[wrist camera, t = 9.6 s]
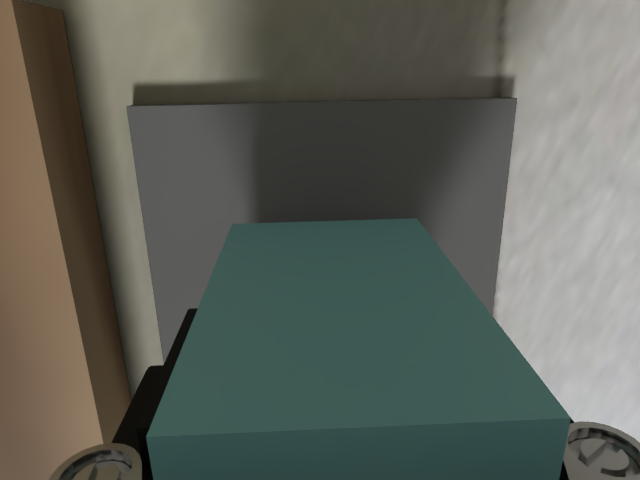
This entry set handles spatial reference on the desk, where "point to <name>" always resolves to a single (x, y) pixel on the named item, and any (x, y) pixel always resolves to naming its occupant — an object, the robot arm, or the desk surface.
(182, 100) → the desk surface
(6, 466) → the pocket plate
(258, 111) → the mat
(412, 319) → the block
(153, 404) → the robot arm
